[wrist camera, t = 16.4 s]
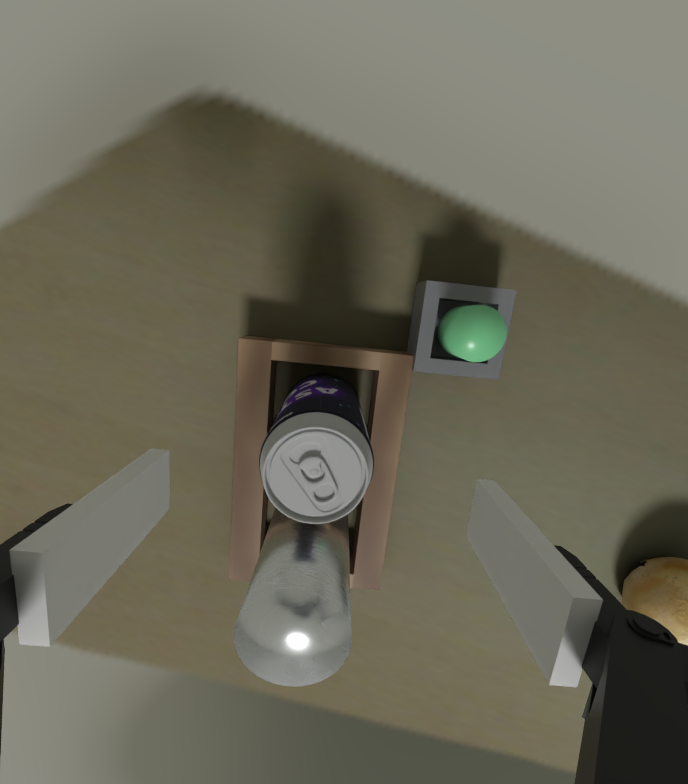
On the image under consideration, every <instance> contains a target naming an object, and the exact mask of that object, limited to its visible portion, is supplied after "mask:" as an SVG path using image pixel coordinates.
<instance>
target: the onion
mask: <svg viewBox="0 0 688 784" xmlns="http://www.w3.org/2000/svg"><path fill="white" fill-rule="evenodd" d="M641 562H643V563H644V562H645V564H644V565H645V566H644V567H643V566H639V567H637V568H636V569H634V570H633V571H632V572H631V573H629V575H628V576H627V578H626V579H625V580H624V584H623V592H622V605H623V606H624V607H625V608H626V609H627V610H633V611H636V612H639V613H641V614H644V615H646V616H648V617H650V618H652V619H654V620H655V621H657V622H659V623H660V624H661V625H663V626H664V627H665V628H667V629H668V630H669V631H670V632H671V633H672V634H673V635H674V636H675V637H676V639H677V640H678V643H681V644H685V645H688V560H687V559H682V558H677V557H661V558H653V559H649V560H645V561H641ZM641 562H640V563H641Z"/></svg>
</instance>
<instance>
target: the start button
mask: <svg viewBox="0 0 688 784" xmlns="http://www.w3.org/2000/svg"><path fill="white" fill-rule="evenodd" d="M506 335H507V328H506V323H505V320H504V318H503V317H502V315H501V314H500V313H499V312H498V311H497V310H495V309H494V308H492V307H489V306H485V305H467V306H457V307H454V308H452V309H450V310H449V311H447V312H446V313H445V314H444V315H443V316H442V318H441V319H440V321H439V324H438V327H437V339H438V342H439V344H440V346H441V347H442V348H443V349H444V350H445V351H446V352H447V353H449V354H451V355H454V356H457V357H459V358H462V359H464V360H467V361H470V362H482V361H486V360H488V359H490V358H492V357H494V356H495V355H496V354H497V353H498V352H499V351H500V350H501V348H502V347H503V345H504V342H505V340H506Z"/></svg>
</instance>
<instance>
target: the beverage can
mask: <svg viewBox="0 0 688 784" xmlns="http://www.w3.org/2000/svg"><path fill="white" fill-rule="evenodd" d="M259 469H260V475H261V478H262V481H263V485H264V489H265V491H266V494H267V496H268V498H269V499H270V501H271V502H272V503H273V505H274V506H275V507H276V508H277V509H278V510H279V511H280V512H281V513H283V514H284V515H286V516H287V517H289V518H292V519H294V520H296V521H299V522H303V523H309V524H322V523H328V522H332V521H335V520H337V519H340V518H342V517H344V516H345V515H347V514H348V513H350V512H351V511H352V510H353V509H354V508H355V507H356V506H357V505H358V504H359V502H360V501H361V499H362V498H363V496H364V494H365V491H366V490H367V488H368V486H369V484H370V482H371V479H372V476H373V472H374V455H373V450H372V447H371V443H370V439H369V436H368V432H367V429H366V425H365V421H364V418H363V414H362V411H361V407H360V403H359V400H358V397H357V395H356V393H355V391H354V390H353V388H352V387H351V386H350V385H349V384H348V383H347V382H345V381H344V380H343V379H341V378H339V377H337V376H334V375H329V374H315V375H311V376H308V377H306V378H304V379H302V380H301V381H299V382H298V383H297V384H296V385H295V386H294V387H293V388H292V389H291V391H290V392H289V394H288V396H287V398H286V400H285V402H284V404H283V406H282V408H281V410H280V412H279V413H278V415H277V417H276V419H275V421H274V423H273V425H272V427H271V429H270V431H269V432H268V434H267V436H266V438H265V440H264V442H263V445H262V447H261V451H260V456H259Z"/></svg>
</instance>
